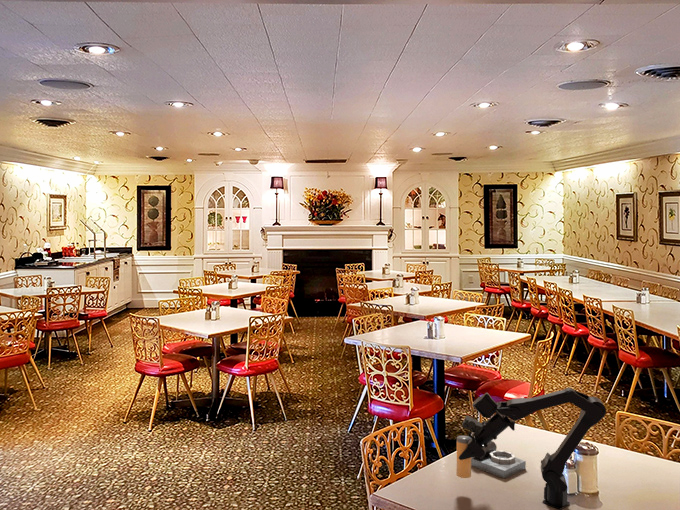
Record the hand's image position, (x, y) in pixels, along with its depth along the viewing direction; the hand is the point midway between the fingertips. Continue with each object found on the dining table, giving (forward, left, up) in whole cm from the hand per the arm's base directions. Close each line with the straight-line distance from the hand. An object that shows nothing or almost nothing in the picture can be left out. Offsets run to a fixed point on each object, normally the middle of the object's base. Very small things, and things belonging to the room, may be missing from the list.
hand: (459, 455), depth 199 cm
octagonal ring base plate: (+4, -28, -12) cm, 31 cm away
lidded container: (-1, -1, -7) cm, 7 cm away
